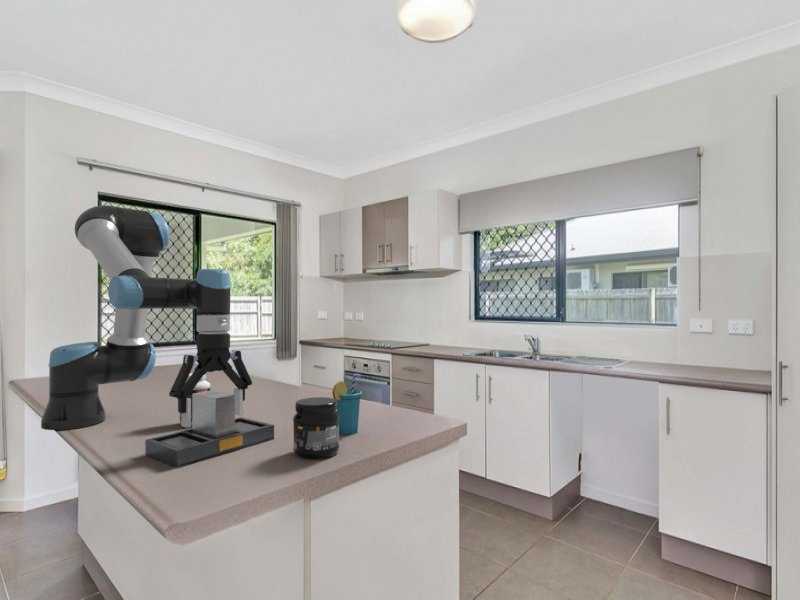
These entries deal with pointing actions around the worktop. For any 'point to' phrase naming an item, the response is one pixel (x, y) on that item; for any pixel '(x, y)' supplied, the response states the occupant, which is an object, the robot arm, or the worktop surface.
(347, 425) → the cup
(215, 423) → the grey rectangular block
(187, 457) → the rack
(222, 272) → the robot arm
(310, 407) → the supplement container
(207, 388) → the pill bottle
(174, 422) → the worktop surface
